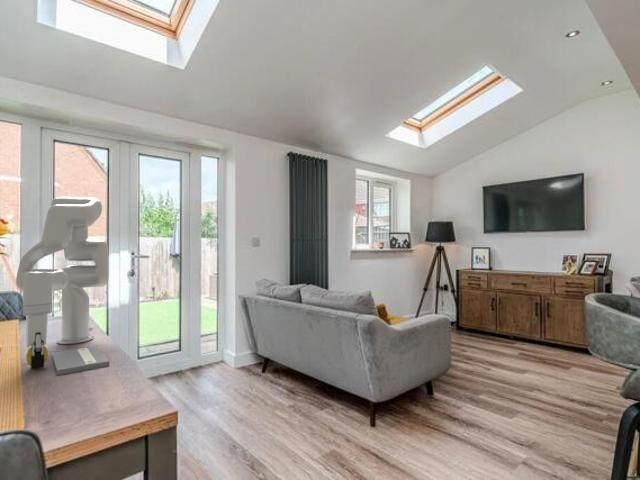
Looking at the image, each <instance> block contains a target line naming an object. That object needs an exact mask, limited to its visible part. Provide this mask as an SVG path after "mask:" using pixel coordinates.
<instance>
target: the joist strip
mask: <svg viewBox="0 0 640 480" xmlns="http://www.w3.org/2000/svg"><path fill="white" fill-rule="evenodd" d="M81 348H82V349H79V348H76V349H77V350H78V352H79V353H80V355H81V357H82V359H83V360H84V362H85V364H91V363H96V360H95V359H94V358H93V356H92V355H91V353H90V352H89V350H88V349H87V348H86V347H81Z"/></svg>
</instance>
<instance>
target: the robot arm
mask: <svg viewBox="0 0 640 480" xmlns="http://www.w3.org/2000/svg"><path fill="white" fill-rule="evenodd" d="M50 203H51V204H50V207H49V208H48V210H47V213H46V218H45V222H44V227H43V231H42V235H41V240H40V241H39V242H38V243H36V244H35V245H34V246H32V247H31V248H29V249H28V251H27V252H26V253H25V254H24V255H22V258H21V259H20V261H19V263H18V265H19V266H18V268H17V273H16V277H15V283H16V284H15V285H16V287H17V288H18V290H20V291H21V292H22V316H25V317H26V323H25V325H26V327H25V329H26V330H25V336H26V337H25V338H26V339H25V341H26V342H25V344H26V348H30V347H32V356H31V366H30V369H31V370H34V369H41V368H44V367H45V363H44V354H43V345H44V346H45V345H46V343H47V337H48V336H47V335H48V318H49V316H48V315H49V314H52V313H53V292H55V291H61V337H58V339H57V340H56V343H57V344H60V345H71V344H80V343H81V344H82V343H85V342H89V341H91V340H93V339H94V335H93V334H90V332H92V331H94V326H92V325H91V326H90V296H89V294H88V293H87V292H86V291H85V290H84V288H101V287H104V286H107V284H108V282H109V278H110V277H109V276H110V275H109V274H110V271H109V264H110V263H109V244H108V243H107V242H106V240H104V239H99V238H89V235H88V234H89V229H88V228H89V227H91V226H92V225H94V223H96V221H98V219H99V218H100V217H101V215H102V212H103V205H102V202H101V200H99V199H98V198H96V197H80V196H79V197H78V196H59V197H54V198H53V199H52V200H51V202H50ZM60 251H63V255H64V259H65V260H66V261H68V262H76V263H77V262H93V263H94V264H70V265H69V264H68V265H65V266H64V267H62V268H60V269H59V268H39V269H38V268H35V269H34V266H35V265H36V264H37V263H38V262H39V261H40V260H41V259H43V258H45V257H47V256H49V255H52V254H54V253H58V252H60ZM34 345H36V346H34ZM34 348H35V350H34ZM34 352H35V354H34Z"/></svg>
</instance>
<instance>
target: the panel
mask: <svg viewBox="0 0 640 480" xmlns="http://www.w3.org/2000/svg"><path fill="white" fill-rule="evenodd" d="M82 348H83V347H81V348H74V349H68V350H61V351H55V352H51V359H52V363H53V366H54V369H55V372H56V375H57V376H61V375H65V374H71V373H75V372H76V373H77V372H82V371H86V370H92V369H98V368H104V367H109V366H110V360H109V359H108V357H107V356H106V354H104V353H103V351H102V350H101V349H100V347H99V346H98V345H94V346H87V347H85V348H87V349H88V350H89V352H90V353H91V355H92V356H93V358H94V359H95V360H96V363H91V364H85V362H84V360H83V359H82V357H81V355H80V353H79V352H78V350H77V349H82Z"/></svg>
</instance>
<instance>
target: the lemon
mask: <svg viewBox="0 0 640 480" xmlns="http://www.w3.org/2000/svg"><path fill="white" fill-rule="evenodd" d="M34 346H36V345H34ZM34 350H35V348H34ZM34 354H35V352H34ZM43 354H44V364H46V362H47V360H48V357H49V356H48V355H49V351H48V348H47V347H46V346H45V345H43ZM25 356H26V363H27V364H28V366H30V367H31V356H32V346H30V347H29V348H28V350H27V352H26V355H25Z"/></svg>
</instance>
